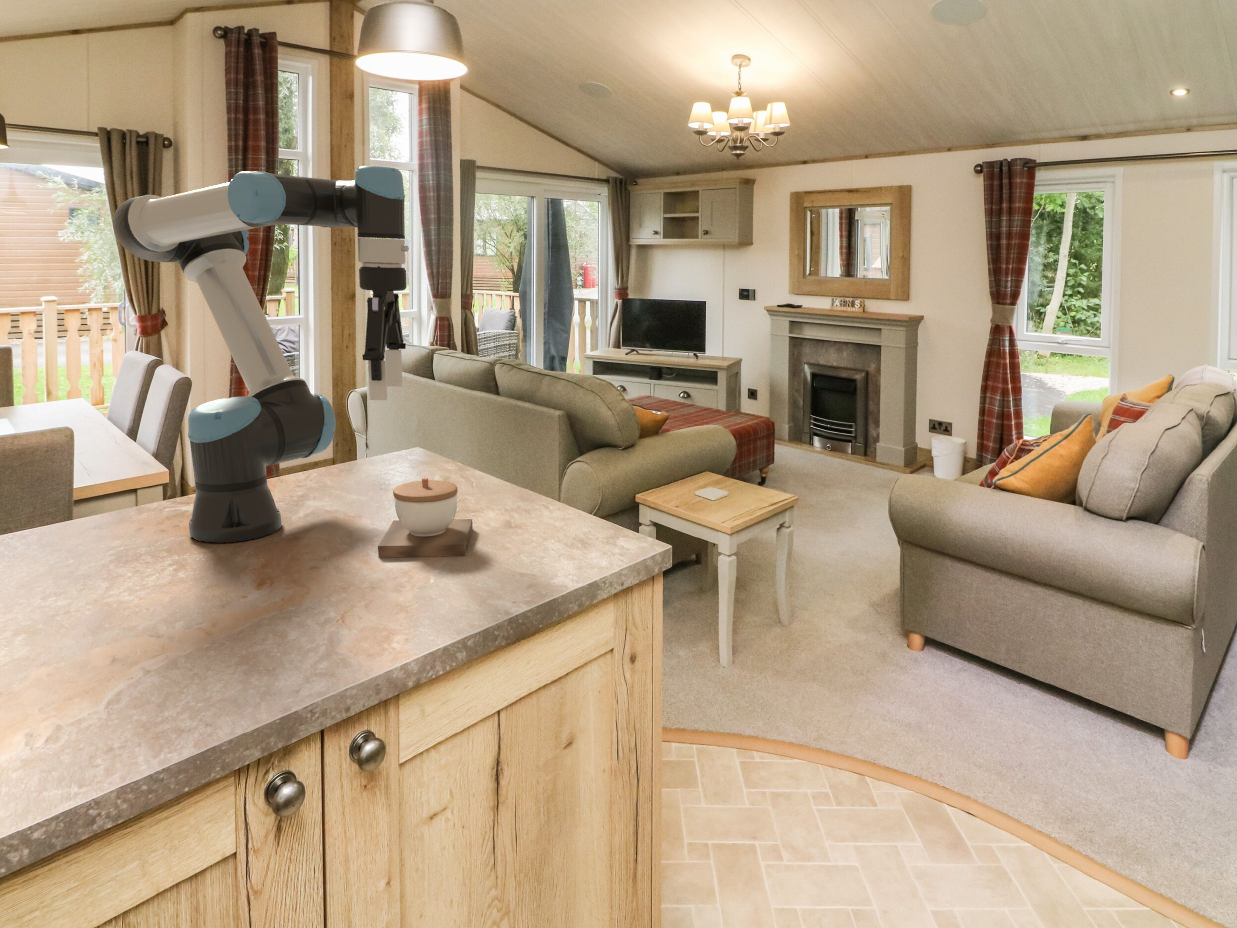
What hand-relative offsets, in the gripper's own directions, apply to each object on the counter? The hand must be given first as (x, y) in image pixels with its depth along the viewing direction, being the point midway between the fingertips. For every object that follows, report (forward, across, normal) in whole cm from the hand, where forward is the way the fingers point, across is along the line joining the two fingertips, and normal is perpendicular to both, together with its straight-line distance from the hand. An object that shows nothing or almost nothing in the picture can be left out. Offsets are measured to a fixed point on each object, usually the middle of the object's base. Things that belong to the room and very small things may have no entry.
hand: (386, 392), depth 143 cm
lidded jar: (+23, -6, -7) cm, 25 cm away
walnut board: (+25, -6, -7) cm, 27 cm away
